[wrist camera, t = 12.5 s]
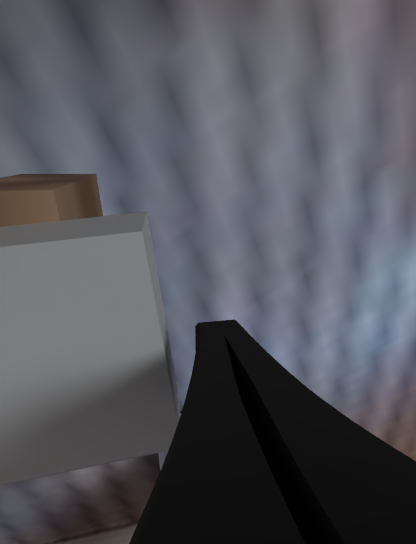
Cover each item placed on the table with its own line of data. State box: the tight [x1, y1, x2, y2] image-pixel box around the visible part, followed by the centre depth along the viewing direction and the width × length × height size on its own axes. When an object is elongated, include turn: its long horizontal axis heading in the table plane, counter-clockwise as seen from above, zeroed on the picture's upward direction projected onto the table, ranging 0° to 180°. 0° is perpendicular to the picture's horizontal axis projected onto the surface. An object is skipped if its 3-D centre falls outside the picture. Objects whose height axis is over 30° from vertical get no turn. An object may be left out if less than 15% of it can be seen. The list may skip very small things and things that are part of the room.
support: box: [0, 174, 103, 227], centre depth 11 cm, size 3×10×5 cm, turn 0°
